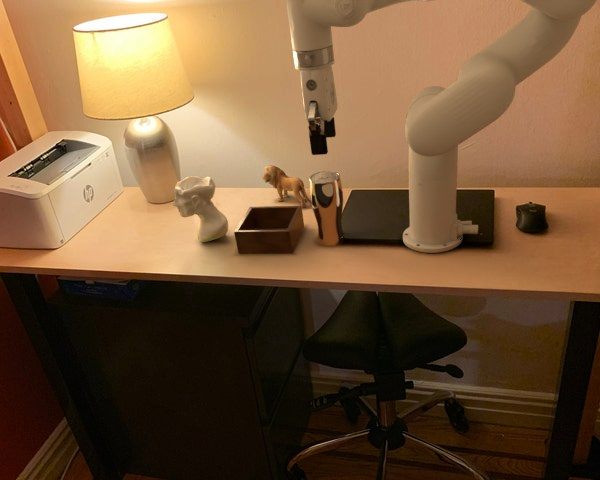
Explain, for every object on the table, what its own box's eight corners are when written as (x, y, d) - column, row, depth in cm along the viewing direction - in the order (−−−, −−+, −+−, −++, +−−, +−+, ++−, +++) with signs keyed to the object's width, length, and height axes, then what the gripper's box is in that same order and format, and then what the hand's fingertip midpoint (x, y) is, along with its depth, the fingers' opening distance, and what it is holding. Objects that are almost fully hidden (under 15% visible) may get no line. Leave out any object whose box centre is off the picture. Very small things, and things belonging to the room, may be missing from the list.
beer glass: (344, 247, 129) (338, 183, 121) (313, 247, 131) (305, 184, 122) (348, 232, 135) (343, 169, 126) (318, 232, 136) (311, 170, 128)
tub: (304, 226, 140) (301, 205, 136) (292, 253, 129) (289, 231, 126) (253, 227, 143) (249, 206, 140) (238, 253, 132) (233, 231, 129)
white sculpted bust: (235, 241, 137) (223, 181, 129) (189, 255, 135) (173, 194, 126) (224, 226, 145) (211, 168, 137) (179, 238, 142) (164, 180, 134)
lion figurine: (263, 201, 155) (257, 168, 150) (275, 193, 158) (270, 161, 153) (309, 209, 147) (305, 175, 142) (321, 201, 150) (317, 167, 145)
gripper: (325, 66, 103) (335, 160, 113) (340, 45, 117) (348, 129, 126) (284, 70, 105) (297, 162, 115) (303, 48, 119) (314, 132, 128)
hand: (324, 145), depth 120 cm, fingers open, 9 cm apart
